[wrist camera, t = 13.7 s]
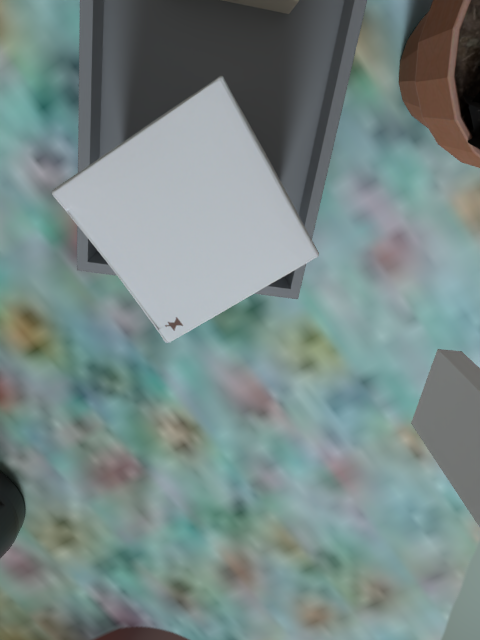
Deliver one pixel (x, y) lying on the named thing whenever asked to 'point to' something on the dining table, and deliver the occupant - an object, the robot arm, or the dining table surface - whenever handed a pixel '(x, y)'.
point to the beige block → (269, 4)
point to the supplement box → (190, 213)
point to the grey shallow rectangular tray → (240, 75)
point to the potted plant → (446, 76)
